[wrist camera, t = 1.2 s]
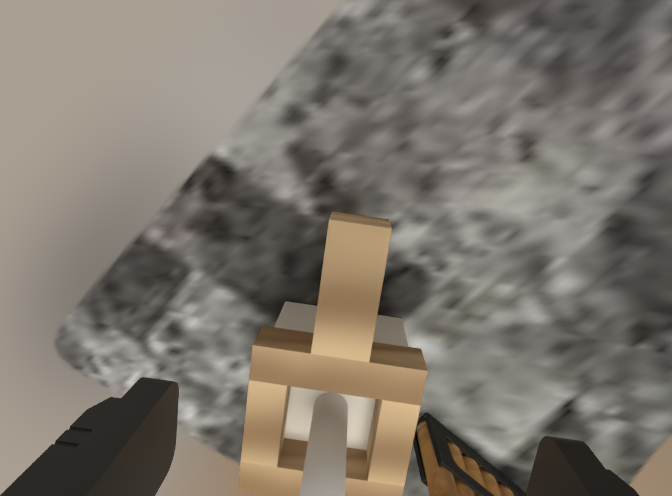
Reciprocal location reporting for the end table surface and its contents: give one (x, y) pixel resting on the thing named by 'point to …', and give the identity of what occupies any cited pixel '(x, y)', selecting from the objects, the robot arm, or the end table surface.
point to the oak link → (336, 373)
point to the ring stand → (330, 411)
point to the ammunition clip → (455, 465)
